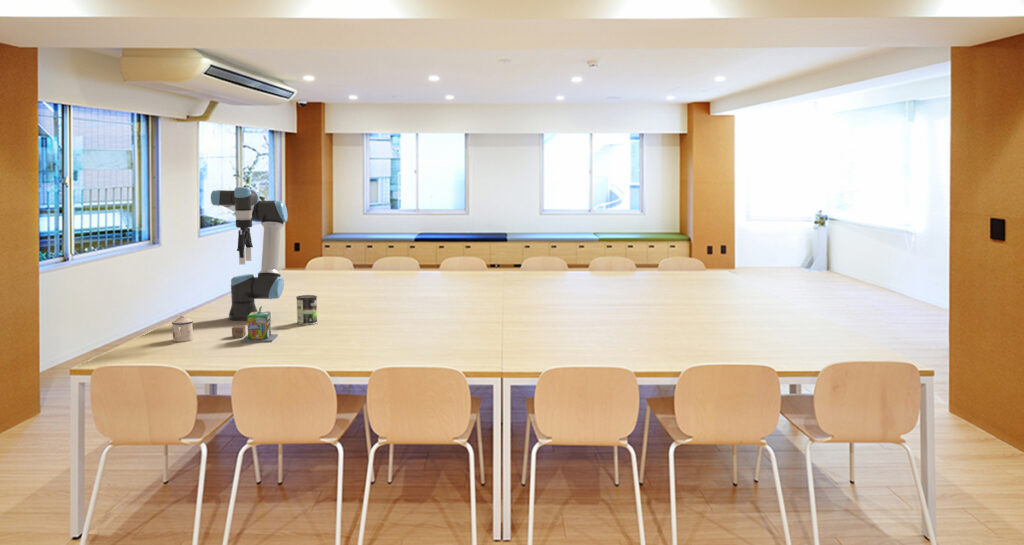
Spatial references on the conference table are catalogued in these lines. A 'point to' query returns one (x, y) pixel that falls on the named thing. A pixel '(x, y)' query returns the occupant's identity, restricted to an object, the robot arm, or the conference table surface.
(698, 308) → the conference table surface
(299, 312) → the coffee can
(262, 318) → the chalk box
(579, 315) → the conference table surface
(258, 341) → the slate mat
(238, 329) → the walnut block
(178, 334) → the teacup with lid
